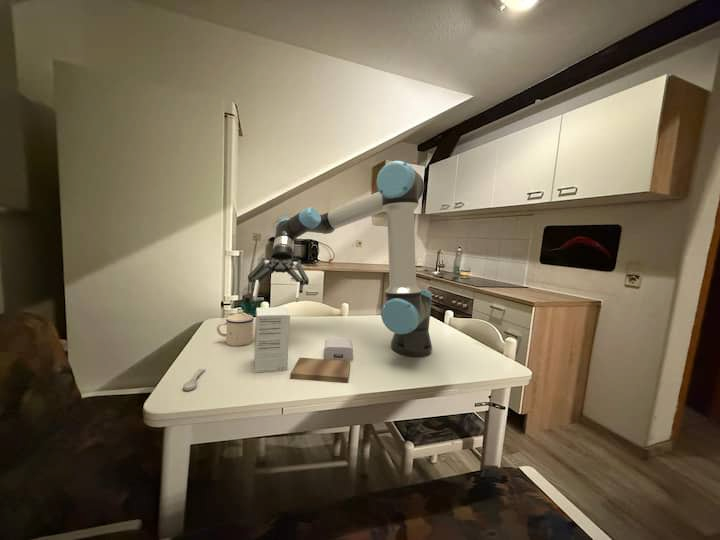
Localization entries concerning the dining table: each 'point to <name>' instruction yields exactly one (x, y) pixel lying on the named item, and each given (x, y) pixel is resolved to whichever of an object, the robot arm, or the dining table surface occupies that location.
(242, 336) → the teacup with lid
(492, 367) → the dining table surface
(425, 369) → the dining table surface
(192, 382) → the spoon
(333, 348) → the charger
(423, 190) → the robot arm
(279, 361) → the supplement box
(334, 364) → the walnut board
